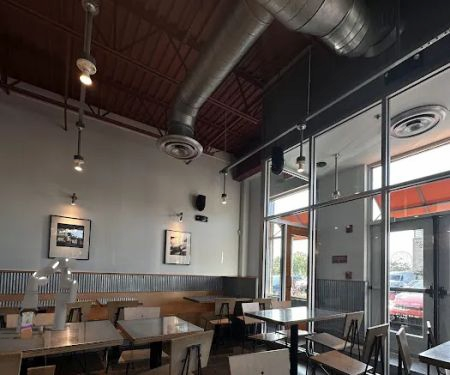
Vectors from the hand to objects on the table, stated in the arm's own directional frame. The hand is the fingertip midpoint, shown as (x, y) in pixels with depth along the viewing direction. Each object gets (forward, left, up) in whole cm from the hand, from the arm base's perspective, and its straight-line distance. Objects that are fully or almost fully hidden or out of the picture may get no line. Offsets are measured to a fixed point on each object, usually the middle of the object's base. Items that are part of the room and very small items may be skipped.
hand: (28, 316), depth 268 cm
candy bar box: (+3, -23, -17) cm, 29 cm away
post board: (-4, -5, -17) cm, 18 cm away
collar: (0, 0, -15) cm, 15 cm away
